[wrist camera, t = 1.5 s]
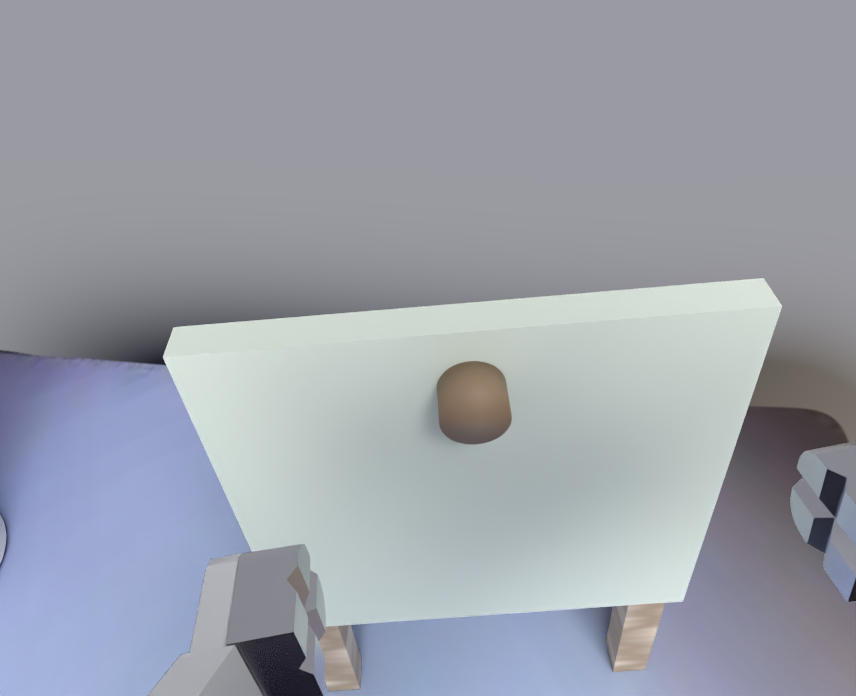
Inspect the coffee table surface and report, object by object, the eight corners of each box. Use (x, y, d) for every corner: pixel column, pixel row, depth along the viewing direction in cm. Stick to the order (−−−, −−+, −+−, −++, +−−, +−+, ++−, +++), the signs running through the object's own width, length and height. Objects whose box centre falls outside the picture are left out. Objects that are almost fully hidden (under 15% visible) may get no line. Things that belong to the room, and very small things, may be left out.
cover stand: (328, 699, 44) (290, 613, 36) (345, 456, 58) (320, 359, 51) (647, 677, 43) (675, 585, 36) (584, 437, 58) (595, 336, 50)
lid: (290, 601, 37) (283, 660, 34) (173, 327, 24) (150, 392, 22) (673, 574, 36) (692, 632, 34) (763, 278, 23) (803, 339, 21)
